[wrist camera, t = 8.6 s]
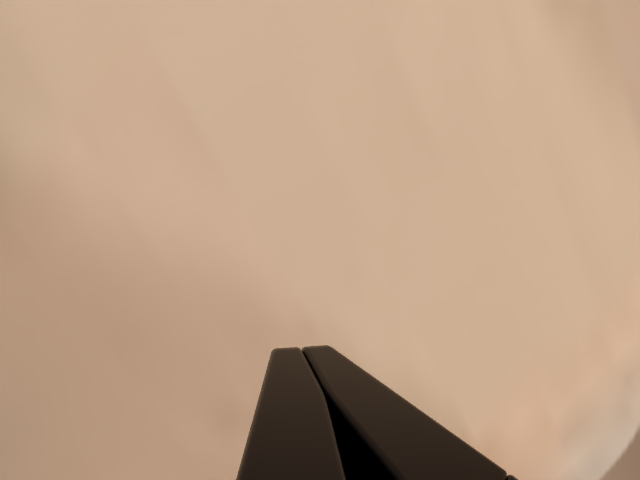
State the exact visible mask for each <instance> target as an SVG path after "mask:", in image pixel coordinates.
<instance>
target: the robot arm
mask: <svg viewBox="0 0 640 480" xmlns="http://www.w3.org/2000/svg"><path fill="white" fill-rule="evenodd" d="M236 480H518V479H517V478H515V477H514V476H512V475H508V476H507V473H506V471H505V470H504V469H502V468H501V467H499V466H498V465H497V464H495V463H494V462H492V461H491V460H490V459H488V458H487V457H485V456H484V455H483V454H481V453H480V452H478V451H477V450H476V449H474V448H473V447H471V446H470V445H468V444H467V443H466V442H464V441H463V440H461V439H460V438H459V437H457V436H456V435H454V434H453V433H452V432H450V431H449V430H447V429H446V428H445V427H443V426H442V425H440V424H439V423H438V422H436V421H435V420H433V419H432V418H431V417H429V416H428V415H426V414H425V413H424V412H422V411H421V410H419V409H418V408H416V407H415V406H414V405H412V404H411V403H409V402H408V401H407V400H405V399H404V398H402V397H401V396H400V395H398V394H397V393H395V392H394V391H393V390H391V389H390V388H388V387H387V386H386V385H384V384H383V383H381V382H380V381H379V380H377V379H376V378H374V377H373V376H371V375H370V374H369V373H367V372H366V371H364V370H363V369H362V368H360V367H359V366H357V365H356V364H355V363H353V362H352V361H350V360H349V359H348V358H346V357H345V356H343V355H342V354H341V353H339V352H338V351H336V350H335V349H334V348H332V347H330V346H327V345H324V346H309V347H304V348H302V350H301V349H300V348H297V347H293V348H277V349H274V350H273V351H272V352H271V356H270V359H269V363H268V367H267V370H266V374H265V377H264V381H263V385H262V388H261V392H260V396H259V399H258V403H257V406H256V410H255V414H254V417H253V421H252V425H251V428H250V432H249V435H248V439H247V443H246V446H245V450H244V454H243V457H242V461H241V464H240V468H239V472H238V475H237V479H236Z"/></svg>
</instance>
